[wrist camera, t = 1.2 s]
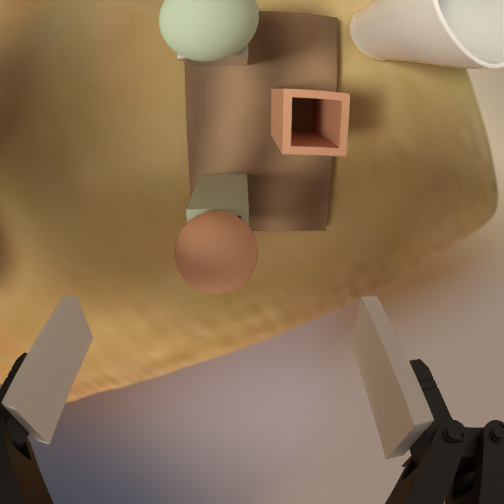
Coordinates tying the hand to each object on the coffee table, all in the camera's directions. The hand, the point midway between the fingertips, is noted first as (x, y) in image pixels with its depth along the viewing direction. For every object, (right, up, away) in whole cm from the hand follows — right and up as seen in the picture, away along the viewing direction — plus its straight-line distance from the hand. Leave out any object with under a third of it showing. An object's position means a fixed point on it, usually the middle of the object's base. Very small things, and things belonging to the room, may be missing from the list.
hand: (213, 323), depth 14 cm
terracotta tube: (+5, +15, +10) cm, 19 cm away
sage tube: (-1, +8, +14) cm, 16 cm away
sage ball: (-1, +16, +1) cm, 16 cm away
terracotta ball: (-1, +4, +8) cm, 9 cm away
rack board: (+2, +14, +12) cm, 19 cm away
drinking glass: (+13, +23, +8) cm, 27 cm away
